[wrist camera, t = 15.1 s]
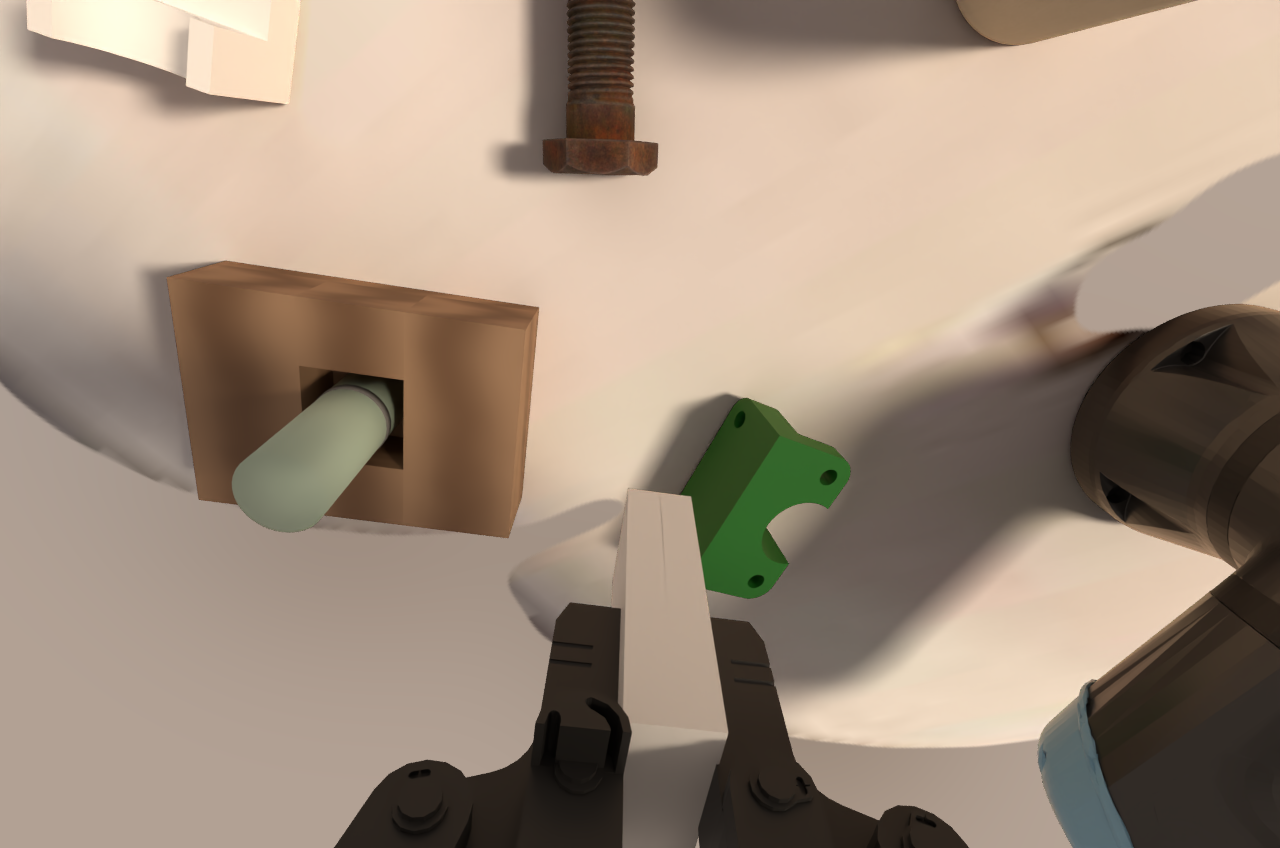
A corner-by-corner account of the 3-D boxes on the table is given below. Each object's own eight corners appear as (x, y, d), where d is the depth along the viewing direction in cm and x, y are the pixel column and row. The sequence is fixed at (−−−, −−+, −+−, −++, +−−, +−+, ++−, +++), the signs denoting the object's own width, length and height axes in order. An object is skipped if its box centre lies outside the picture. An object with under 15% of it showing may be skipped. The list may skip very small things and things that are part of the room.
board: (539, 307, 38) (525, 330, 33) (522, 496, 43) (508, 538, 38) (225, 260, 36) (166, 277, 32) (246, 460, 42) (198, 499, 37)
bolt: (621, -162, 30) (617, 174, 36) (521, -193, 28) (533, 172, 34) (689, -220, 26) (672, 176, 31) (576, -263, 23) (579, 174, 29)
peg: (413, 368, 38) (327, 459, 27) (410, 429, 40) (328, 539, 29) (343, 356, 38) (227, 444, 27) (343, 419, 39) (234, 526, 28)
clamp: (728, 496, 48) (745, 611, 42) (661, 476, 46) (668, 595, 40) (840, 404, 40) (879, 531, 34) (766, 373, 38) (794, 504, 32)
